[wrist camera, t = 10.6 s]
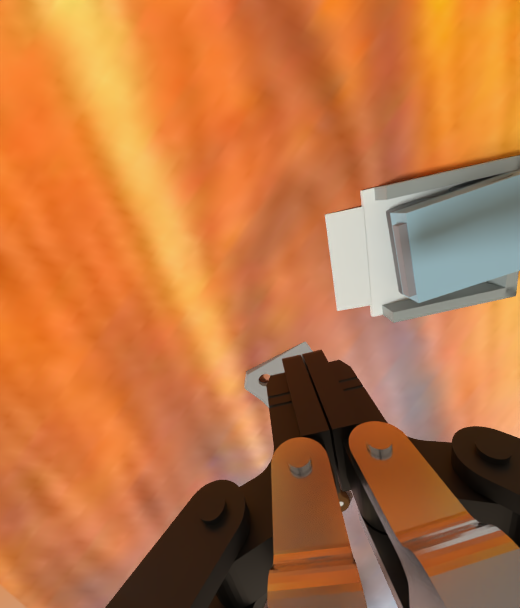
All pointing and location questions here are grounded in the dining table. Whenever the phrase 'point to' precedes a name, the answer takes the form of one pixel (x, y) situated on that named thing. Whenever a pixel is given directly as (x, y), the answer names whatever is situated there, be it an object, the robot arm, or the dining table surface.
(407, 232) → the pale blue lipped slab
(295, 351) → the kitchen cleaver
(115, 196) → the dining table surface
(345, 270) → the dock
